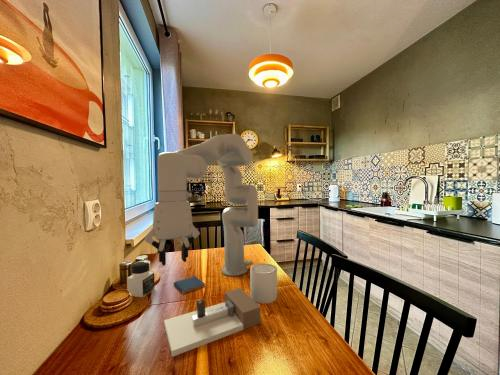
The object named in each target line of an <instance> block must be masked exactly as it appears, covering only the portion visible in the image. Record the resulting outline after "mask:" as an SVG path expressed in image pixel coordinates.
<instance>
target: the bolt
mask: <svg viewBox="0 0 500 375" xmlns="http://www.w3.org/2000/svg"><path fill="white" fill-rule="evenodd" d="M205 308H206V300H205V299H200V300H197V301H196V311H197V315H194V316H192V324H193V326H197V325H200V324H203V323H206V322H209V321H212V320H215V319H218V318H221V317H224V316H227V315H229V307H228V306H227V305H226V306H223V307H220V308H217V309H214V310H210V311H207V312H205Z"/></svg>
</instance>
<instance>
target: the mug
mask: <svg viewBox="0 0 500 375" xmlns="http://www.w3.org/2000/svg"><path fill="white" fill-rule="evenodd" d="M250 266H251V267H250V268H249V269H250V271H249V272H250V273H249V274H250V275H249V276H250V278H249V281H250V282H249V283H250V284H249V285H250V287H249V288H250V289H249V290H250V292H249V293H250V296H251V297H250V296H249V297H250V298H251V299H252V300H253V301H254V302H256V303H257V302H258V303H257V304H264V303H266V304H271V303H273V301H274V302H275V301H277V299H278V267H277V266H276V265H273V264H270V263H256V264H252V265H250ZM276 298H277V299H276ZM270 302H271V303H270Z"/></svg>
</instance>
